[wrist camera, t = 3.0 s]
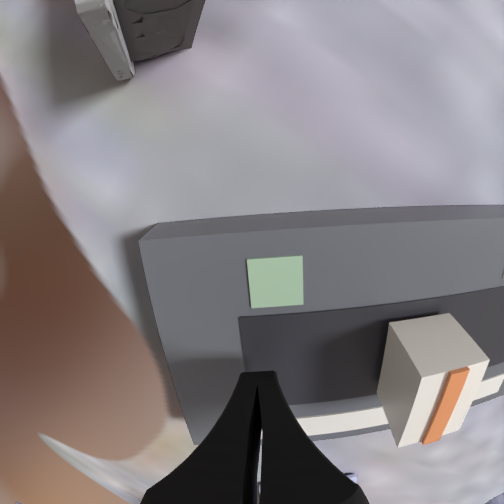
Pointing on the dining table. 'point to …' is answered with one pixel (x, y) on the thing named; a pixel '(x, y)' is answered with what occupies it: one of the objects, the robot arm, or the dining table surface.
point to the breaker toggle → (428, 377)
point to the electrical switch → (138, 29)
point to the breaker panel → (319, 303)
